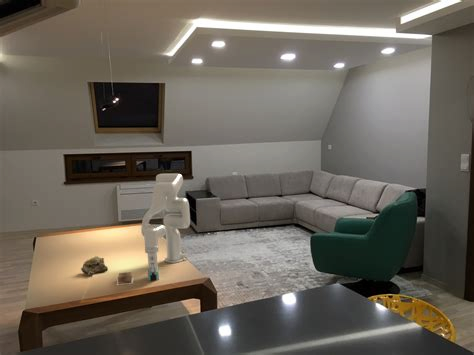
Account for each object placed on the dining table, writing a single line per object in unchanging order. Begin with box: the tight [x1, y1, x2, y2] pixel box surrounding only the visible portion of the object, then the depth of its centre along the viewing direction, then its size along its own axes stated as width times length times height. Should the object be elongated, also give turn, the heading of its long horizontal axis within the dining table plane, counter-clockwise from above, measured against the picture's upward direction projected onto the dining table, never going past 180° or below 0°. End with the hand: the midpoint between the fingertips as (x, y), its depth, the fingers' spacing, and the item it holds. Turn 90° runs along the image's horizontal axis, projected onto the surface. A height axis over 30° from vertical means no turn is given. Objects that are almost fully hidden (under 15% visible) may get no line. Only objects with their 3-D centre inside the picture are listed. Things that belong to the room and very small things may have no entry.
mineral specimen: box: [80, 255, 109, 275], centre depth 246 cm, size 14×13×10 cm
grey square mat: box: [116, 277, 134, 286], centre depth 228 cm, size 16×14×1 cm
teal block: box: [147, 268, 160, 282], centre depth 231 cm, size 6×6×6 cm
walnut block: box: [117, 271, 133, 285], centre depth 228 cm, size 7×7×4 cm
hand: (153, 278), depth 231 cm, fingers closed on teal block, 6 cm apart
